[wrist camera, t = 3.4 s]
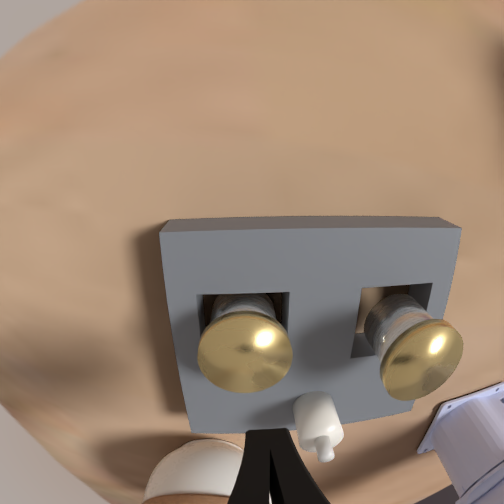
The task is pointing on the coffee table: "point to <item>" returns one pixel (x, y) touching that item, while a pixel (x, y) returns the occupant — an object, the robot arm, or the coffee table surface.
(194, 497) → the lidded jar
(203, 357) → the knob
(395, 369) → the knob
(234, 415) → the mount plate
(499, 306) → the coffee table surface
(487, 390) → the robot arm
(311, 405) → the potentiometer
